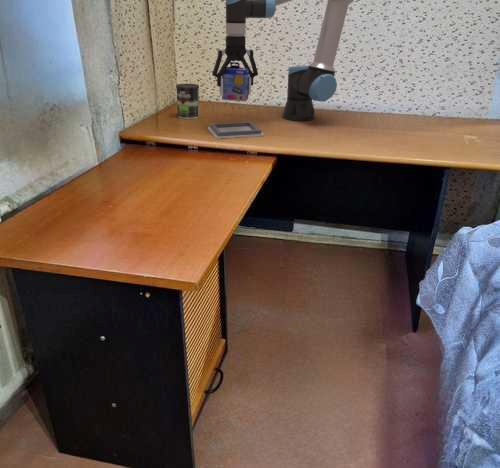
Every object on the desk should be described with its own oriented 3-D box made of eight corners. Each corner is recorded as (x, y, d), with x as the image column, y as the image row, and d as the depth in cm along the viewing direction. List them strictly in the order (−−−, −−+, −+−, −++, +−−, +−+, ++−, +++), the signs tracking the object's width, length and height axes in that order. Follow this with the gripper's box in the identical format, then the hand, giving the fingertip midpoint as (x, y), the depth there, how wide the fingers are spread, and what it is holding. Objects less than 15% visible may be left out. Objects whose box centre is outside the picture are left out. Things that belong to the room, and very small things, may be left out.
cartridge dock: (252, 126, 208) (252, 121, 207) (264, 136, 195) (264, 130, 194) (207, 129, 203) (207, 123, 202) (215, 139, 189) (215, 133, 188)
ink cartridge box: (221, 100, 191) (221, 61, 185) (225, 97, 196) (225, 60, 190) (245, 101, 189) (245, 63, 183) (248, 99, 194) (249, 61, 188)
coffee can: (193, 120, 217) (192, 88, 210) (173, 117, 220) (171, 86, 214) (203, 115, 225) (202, 84, 219) (184, 113, 229) (183, 82, 222)
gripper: (261, 34, 188) (260, 91, 198) (203, 34, 182) (204, 93, 192) (267, 35, 182) (265, 95, 192) (207, 36, 176) (208, 97, 186)
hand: (235, 94), depth 192 cm, fingers closed on ink cartridge box, 11 cm apart
